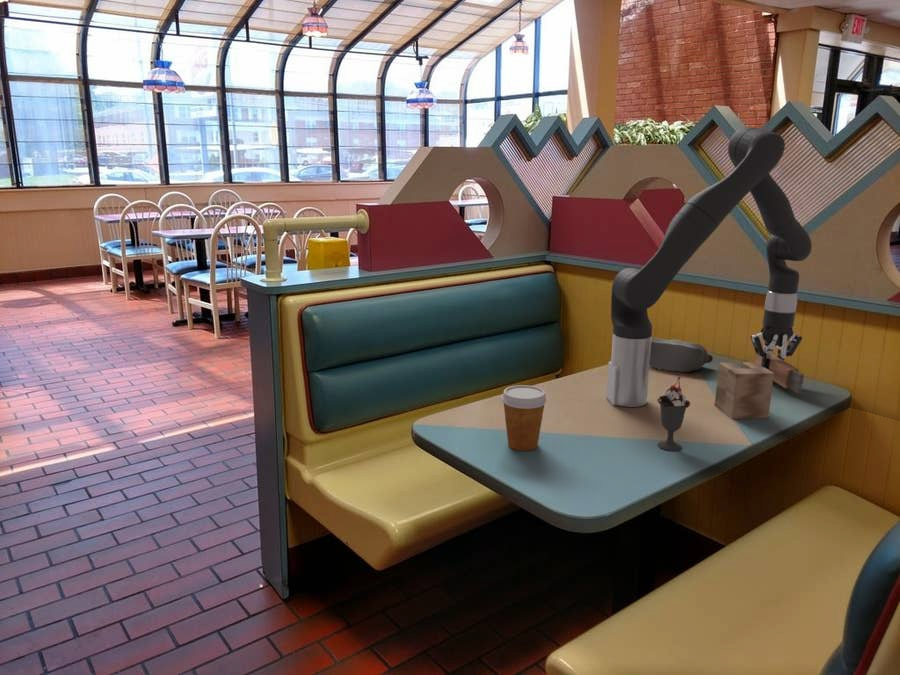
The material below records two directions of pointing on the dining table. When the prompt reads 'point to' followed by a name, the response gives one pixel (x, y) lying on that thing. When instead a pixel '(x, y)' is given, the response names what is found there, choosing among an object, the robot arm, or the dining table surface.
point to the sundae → (672, 415)
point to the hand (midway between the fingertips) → (771, 370)
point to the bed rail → (784, 373)
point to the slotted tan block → (744, 390)
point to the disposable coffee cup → (523, 415)
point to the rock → (677, 355)
